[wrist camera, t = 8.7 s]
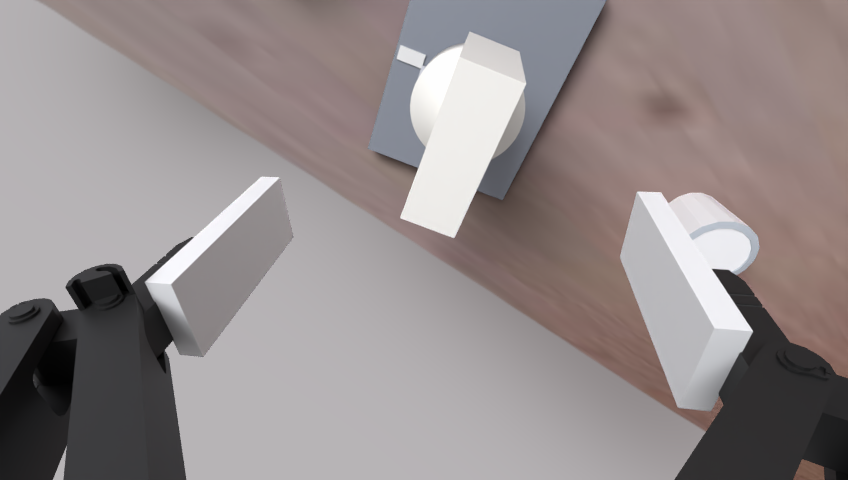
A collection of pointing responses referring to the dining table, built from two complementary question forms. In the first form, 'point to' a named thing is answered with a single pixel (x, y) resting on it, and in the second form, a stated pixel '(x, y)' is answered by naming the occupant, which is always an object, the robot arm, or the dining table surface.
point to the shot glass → (716, 232)
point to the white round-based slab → (462, 127)
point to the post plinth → (500, 22)
